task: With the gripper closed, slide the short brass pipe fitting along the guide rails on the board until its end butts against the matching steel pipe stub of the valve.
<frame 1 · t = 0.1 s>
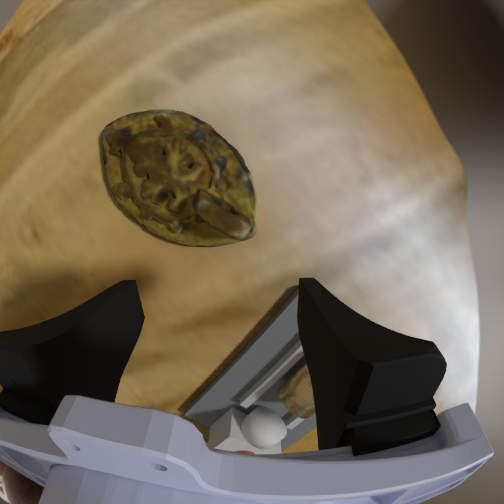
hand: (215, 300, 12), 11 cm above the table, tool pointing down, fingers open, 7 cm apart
brass fitting: (311, 370, 24), point 1 cm above the table, touching valve board
seal: (177, 176, 22), on the table
wooden sphere: (34, 457, 34), on the table
valve board: (285, 387, 26), on the table
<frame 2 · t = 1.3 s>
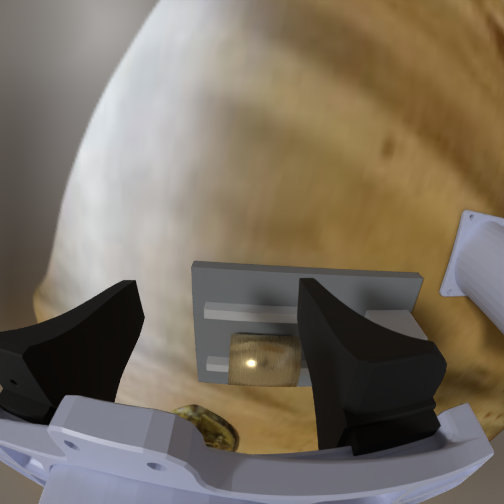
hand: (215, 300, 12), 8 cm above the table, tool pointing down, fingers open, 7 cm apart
brass fitting: (263, 339, 22), point 1 cm above the table, tilted 18°, touching valve board
seal: (199, 433, 31), on the table
valve board: (304, 331, 23), on the table
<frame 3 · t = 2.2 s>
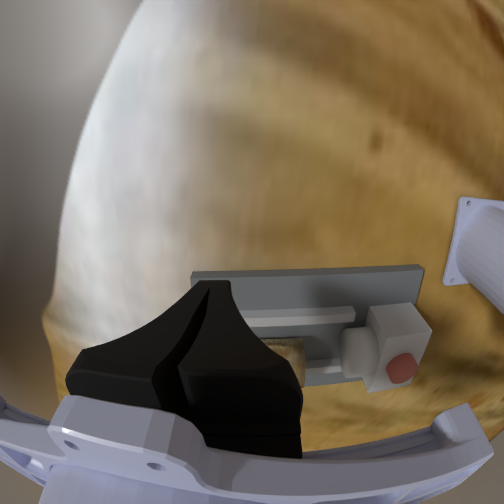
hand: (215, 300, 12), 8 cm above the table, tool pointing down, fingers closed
brass fitting: (268, 342, 23), point 1 cm above the table, tilted 18°, touching valve board
valve board: (309, 332, 24), on the table
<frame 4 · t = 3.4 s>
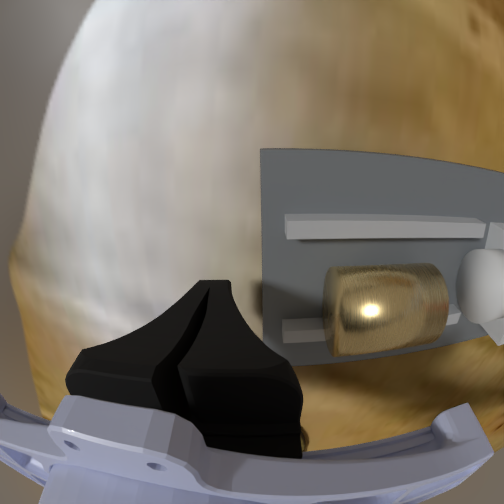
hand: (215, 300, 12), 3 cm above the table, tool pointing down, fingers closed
brass fitting: (371, 276, 14), point 1 cm above the table, tilted 19°, touching valve board
valve board: (418, 264, 15), on the table
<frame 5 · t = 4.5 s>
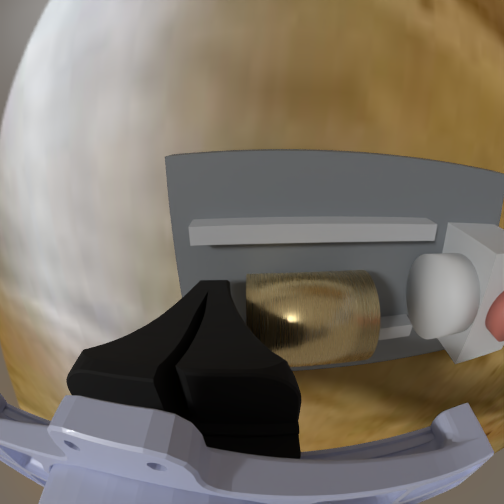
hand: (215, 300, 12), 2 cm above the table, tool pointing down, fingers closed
brass fitting: (301, 284, 13), point 1 cm above the table, tilted 19°, touching gripper
valve board: (359, 270, 14), on the table
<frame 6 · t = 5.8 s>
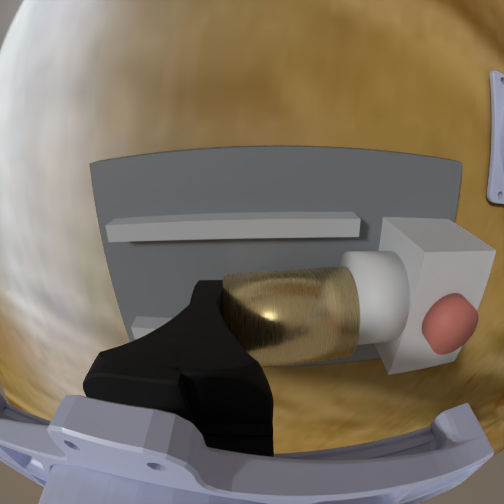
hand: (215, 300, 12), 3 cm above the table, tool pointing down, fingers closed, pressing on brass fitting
brass fitting: (281, 282, 13), point 1 cm above the table, tilted 19°, touching gripper, valve board
valve board: (284, 268, 15), on the table
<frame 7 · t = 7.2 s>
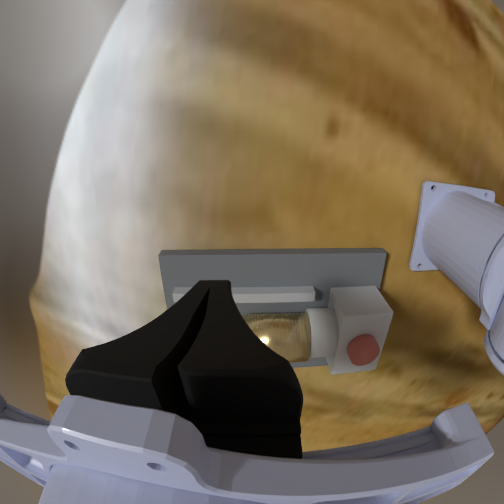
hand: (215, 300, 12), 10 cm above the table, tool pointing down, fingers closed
brass fitting: (273, 320, 24), point 1 cm above the table, tilted 11°, touching valve board
valve board: (273, 312, 25), on the table
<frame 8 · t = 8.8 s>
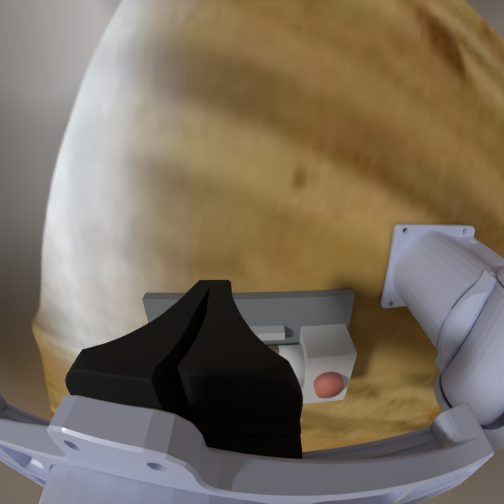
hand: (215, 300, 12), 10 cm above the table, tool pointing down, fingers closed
valve board: (250, 346, 27), on the table
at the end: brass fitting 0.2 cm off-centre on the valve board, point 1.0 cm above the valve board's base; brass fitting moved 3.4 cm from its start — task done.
